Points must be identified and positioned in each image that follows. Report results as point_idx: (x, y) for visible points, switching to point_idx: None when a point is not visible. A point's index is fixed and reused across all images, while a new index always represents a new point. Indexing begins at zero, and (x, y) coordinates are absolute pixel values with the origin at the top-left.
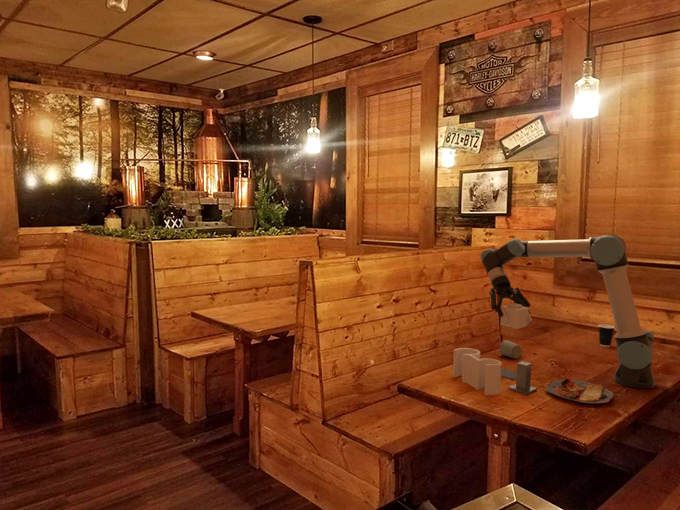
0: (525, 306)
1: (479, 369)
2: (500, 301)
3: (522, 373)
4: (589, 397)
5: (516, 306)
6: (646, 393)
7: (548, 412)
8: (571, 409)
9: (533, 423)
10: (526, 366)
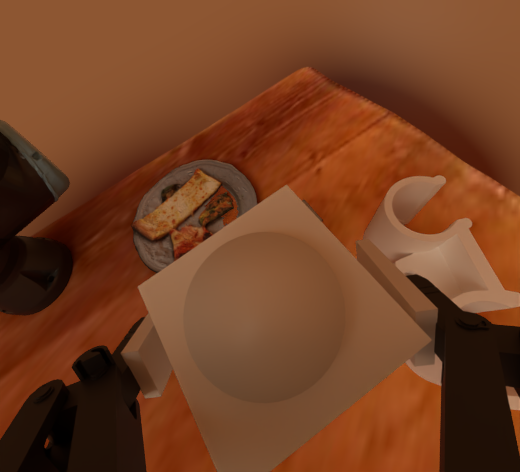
0: (116, 368)
1: (443, 231)
2: (482, 409)
3: None
4: (192, 194)
5: (281, 234)
6: (73, 221)
7: (305, 142)
8: (257, 154)
9: (353, 106)
10: (303, 200)
